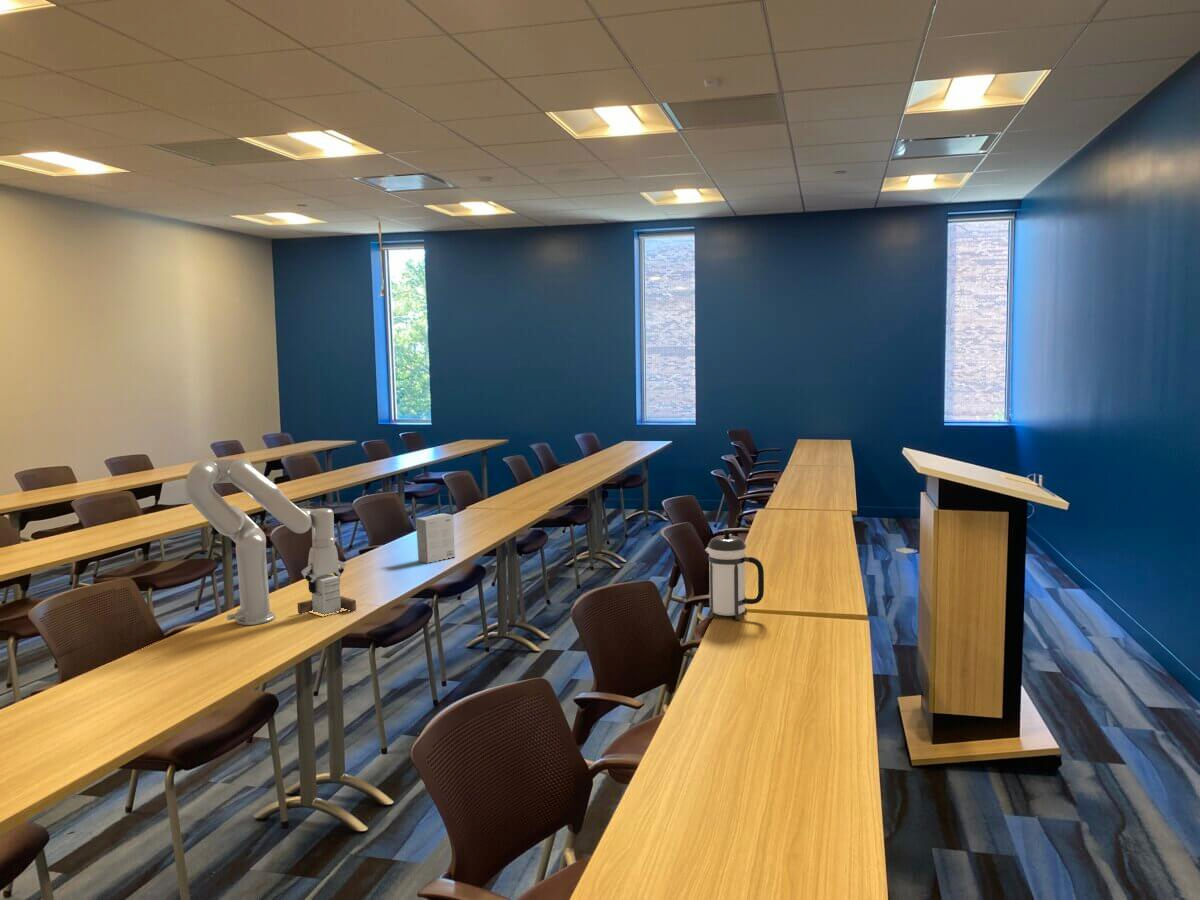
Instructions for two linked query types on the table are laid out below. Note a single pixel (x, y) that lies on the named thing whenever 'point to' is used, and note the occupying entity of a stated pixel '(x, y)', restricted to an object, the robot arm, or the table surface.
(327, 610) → the supplement box
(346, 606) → the arena
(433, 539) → the hard drive box
